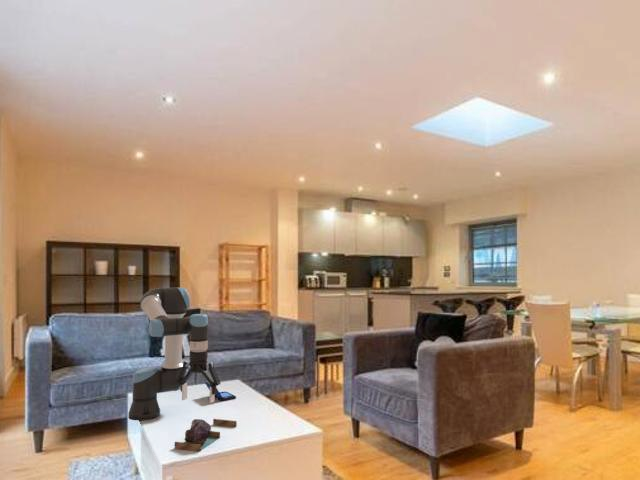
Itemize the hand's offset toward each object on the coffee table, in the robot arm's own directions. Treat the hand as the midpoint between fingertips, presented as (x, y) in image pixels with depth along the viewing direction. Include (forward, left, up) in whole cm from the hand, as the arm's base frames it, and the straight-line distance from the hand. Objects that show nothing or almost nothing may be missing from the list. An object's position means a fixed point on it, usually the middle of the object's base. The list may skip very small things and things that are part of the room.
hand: (198, 400), depth 193 cm
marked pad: (0, 0, -18) cm, 18 cm away
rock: (+1, 0, -18) cm, 18 cm away
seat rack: (0, +7, -18) cm, 19 cm away
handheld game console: (-26, +64, -18) cm, 71 cm away
